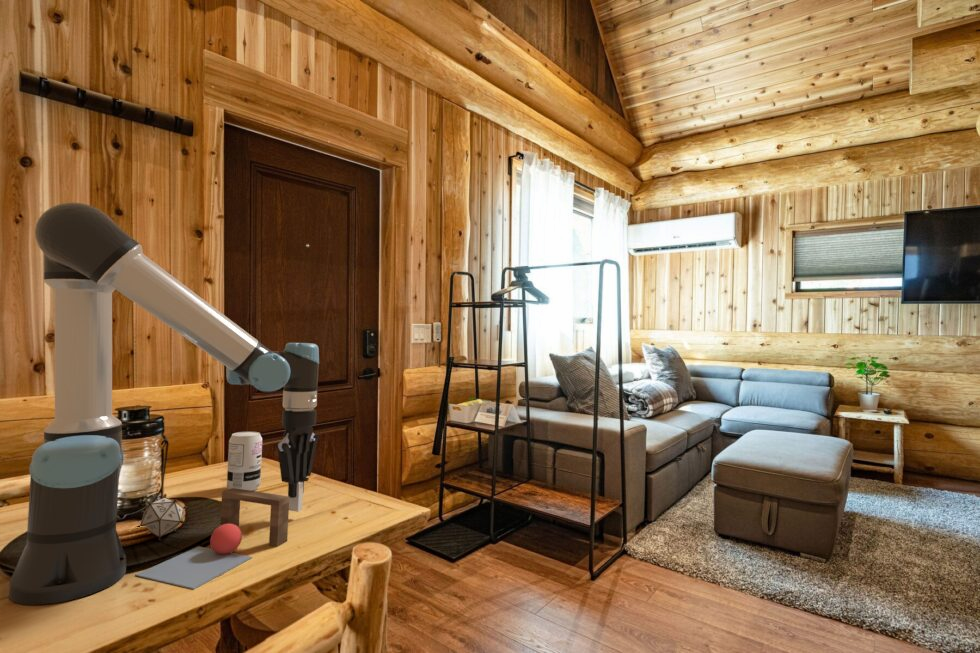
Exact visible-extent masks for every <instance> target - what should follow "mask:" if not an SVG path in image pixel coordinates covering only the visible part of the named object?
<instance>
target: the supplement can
mask: <svg viewBox="0 0 980 653" xmlns="http://www.w3.org/2000/svg"><path fill="white" fill-rule="evenodd" d="M262 452H263V437H262V436H261V432H257V431H238V432H234V433H232V434H231V437H230V438H229V440H228V454H227V455H228V457H227V472H226V474H227V476H226V490H229V489H232V488H237V489H243V490H250V491H255V490H258V488H259V487H260V486H261V476H262V458H263V457H262V456H263V454H262Z"/></svg>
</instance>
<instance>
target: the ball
mask: <svg viewBox="0 0 980 653" xmlns="http://www.w3.org/2000/svg"><path fill="white" fill-rule="evenodd" d="M220 525H221V524H220ZM220 525H219V526H218V527H217V528H215V529H214V530H213V532H212V533H211V537H210V540H209V543H210V547H211V549H213V550H214V551H215V552H216V553H219V554H228V553H234V551H236V550H237V549H238V547H239V546H240V545H241V543H242V539H243V533H242V529H241V528H240V526H239V527H238V526H236V525H234V524H223V525H221V526H220Z"/></svg>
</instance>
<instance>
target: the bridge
mask: <svg viewBox="0 0 980 653" xmlns="http://www.w3.org/2000/svg"><path fill="white" fill-rule="evenodd" d="M241 501H242V502H248V503H254V504H260V505H267V506H270V515H269V516H270V518H269V537H268V538H269V539H268V546H271V547H279V546H281V545H283V544H284V543H287V542H288V535H289V531H288V530H289V514H290V510H289V496H288V495H283V494H276V493H269V492H261V491H255V490H254V491H250V490H243V489H237V488H232V489H229V490H228V489H225V490H223V491H222V492H221V508H220V509H221V510H220V525H219V526H221V525H223V524H234V525H236V526H238V527H239V528H240V513H241V512H240V510H241Z"/></svg>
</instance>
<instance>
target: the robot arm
mask: <svg viewBox="0 0 980 653" xmlns="http://www.w3.org/2000/svg"><path fill="white" fill-rule="evenodd" d="M34 234H35V235H34V237H35V241H36V242H37V243H36V244H37V245H38V247H39V249H40V250H41V252H42V253H43V283H45V284H46V285H47V286H48V287H50V288H51V289H52V290H53V291H54V419H53V421H52V422H51V423H50V424H47V426H46V427H45V428H44V429H43V444H41V445H40V446H38V447H37V448H36V449H35V450H34V451H33V454H32V457H31V462H30V464H29V468H28V469H29V470H28V471H29V476H30V480H29V481H30V483H29V494H28V495H29V498H28V513H27V514H28V515H27V516H28V517H27V528H26V529H27V532H26V543H25V546H24V547H23V550H22V553H21V555H20V557H19V560H18V561H17V564H16V567H15V569H14V571H13V573H12V575H11V577H10V579H9V584H8V599H9V600H10V601H11V602H14V603H16V604H22V605H32V606H33V605H38V606H39V605H49V604H56V603H63V602H67V601H71V600H77V599H79V598H84V597H86V596H90V595H93V594H95V593H98V592H101V591H102V590H105V589H107V588H109V587H111V586H112V585H114V584H116V583H117V582H119V581H120V580H121V579H122V578H123V577H124V576H125V575H126V573H127V572H126V571H127V556H126V554H125V551H124V548H123V545H122V541H121V539H120V536H119V534H118V531H117V517H118V500H119V499H118V498H119V482H120V474H121V469H122V467H123V465H124V458H125V454H124V449H123V438H122V437H123V430H122V428H123V426H122V425H123V424H122V423H123V422H122V421H121V420H120V419H119V418H117V417H116V416H115V415H114V414H113V293H114V292H115V290H116V291H117V292H118V293H120V294H122V295H123V296H124V297H126V298H128V299H129V300H130V301H132V302H133V303H135V304H136V305H137V306H139V307H141V308H142V309H143V310H144V311H146V312H148V314H151V315H152V316H153V317H155V318H156V319H158V321H160V322H162V323H163V324H165V325H166V326H168V327H169V328H170V329H172V330H173V331H174V332H176V333H178V334H179V335H180V336H182V337H183V338H185V339H186V340H188V341H189V342H190V343H192V344H193V345H195V346H196V347H197V348H199V349H201V350H202V351H203V352H205V353H206V354H208V355H209V356H211V357H212V358H213V359H215V360H216V361H217V362H219V363H221V364H222V365H223V366H225V368H226V369H225V371H226V372H225V374H226V375H225V377H226V381H227V384H228V383H229V384H230V385H240V386H244V385H249V386H253V387H254V388H255V389H257V390H258V391H260V392H265V393H267V392H276V391H278V390H281V389H282V388H283V391H282V407H283V408H284V409H283V410H282V414H281V415H282V417H281V425H282V427H284V429H285V430H284V432H283V439H282V440H281V441H280V442H278V441H276V443H275V445H274V446H275V449H276V450H277V454H278V455H277V456H278V462H279V463H278V464H279V470H280V478H281V482H282V483H287V484H288V486H287V487H288V488H287V496H289V512H297V513H299V512H301V511H302V510H303V499H304V498H303V496H304V492H305V491H304V490H305V488H304V487H305V482H309V480H310V479H309V477H311V475H312V469H313V466H314V465H313V464H314V459H315V453H316V448H317V443H318V441H319V439H320V435H319V434H315V433H314V428H313V426H316V424H317V414H318V413H317V412H318V411H317V409H316V407H318V381H319V366H320V353H319V352H320V351H319V350H320V349H319V346H318V345H317V344H316V343H309V342H288V343H286V344H285V348H284V350H279V351H277V350H276V351H275V350H271V349H270V348H268V347H267V346H266V345H264V344H263V343H261V342H259V340H258V339H257V338H255V337H254V336H252V335H251V334H250V333H248V332H247V331H246V330H244V329H243V328H242V327H241V326H239V325H238V324H237V323H236V322H234V321H233V320H231V319H230V318H229V317H227V316H226V315H225V314H224V313H222V312H221V311H219V310H218V309H217V308H216V307H214V306H213V305H212V304H210V303H209V302H208V301H206V300H205V299H203V297H201V296H200V295H198V294H197V293H196V292H194V291H193V290H192V289H190V288H189V287H188V286H186V285H185V284H184V283H182V282H181V281H179V280H178V279H177V278H176V277H174V276H173V275H171V274H170V273H169V272H168V271H167V270H165V269H164V268H162V267H161V266H159V264H157V262H154V260H151V259H150V258H149V257H148V256H147V255H145V254H144V251H143V246H142V245H141V244H140V243H139V242H138V241H137V240H135V239H134V238H133V237H132V236H130V235H129V234H128V233H126V232H125V231H124V230H123V229H122V228H121V227H120V226H119V225H118V224H117V223H116V222H115V221H114V220H113V219H112V218H111V217H110V216H109V215H108V214H106V213H105V212H104V211H102V210H100V209H98V208H97V207H95V206H92V205H89V204H86V203H80V202H65V203H61V204H60V203H59V204H57V205H54V206H52V207H50V208H48V209H47V210H45V211H44V212H42V215H41V216H40V217H39V218H38V220H37V222H36V224H35V229H34Z"/></svg>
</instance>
